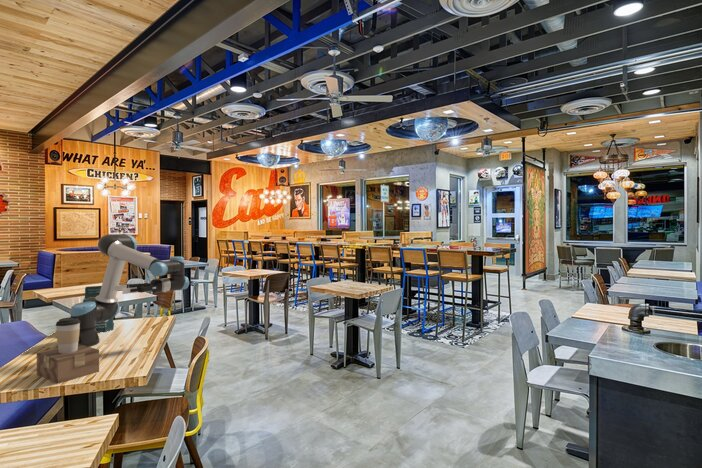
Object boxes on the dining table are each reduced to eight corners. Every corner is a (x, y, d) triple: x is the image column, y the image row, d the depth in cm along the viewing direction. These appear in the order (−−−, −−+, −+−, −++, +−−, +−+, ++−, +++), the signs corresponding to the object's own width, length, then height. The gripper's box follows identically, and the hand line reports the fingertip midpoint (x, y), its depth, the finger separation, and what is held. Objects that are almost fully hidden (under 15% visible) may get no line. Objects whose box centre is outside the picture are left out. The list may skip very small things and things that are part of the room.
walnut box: (35, 375, 169) (35, 352, 169) (77, 363, 183) (77, 343, 183) (57, 384, 159) (57, 360, 158) (99, 371, 173) (99, 349, 173)
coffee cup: (60, 355, 165) (60, 321, 165) (51, 352, 169) (51, 318, 169) (84, 350, 172) (84, 317, 172) (75, 346, 177) (75, 315, 177)
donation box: (113, 326, 257) (113, 285, 257) (113, 331, 243) (112, 288, 243) (85, 329, 249) (84, 286, 249) (82, 334, 235) (82, 289, 235)
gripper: (170, 294, 203) (127, 299, 187) (150, 290, 219) (109, 294, 203) (170, 280, 203) (127, 284, 187) (150, 277, 219) (109, 280, 203)
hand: (117, 290), depth 195 cm, fingers open, 13 cm apart
